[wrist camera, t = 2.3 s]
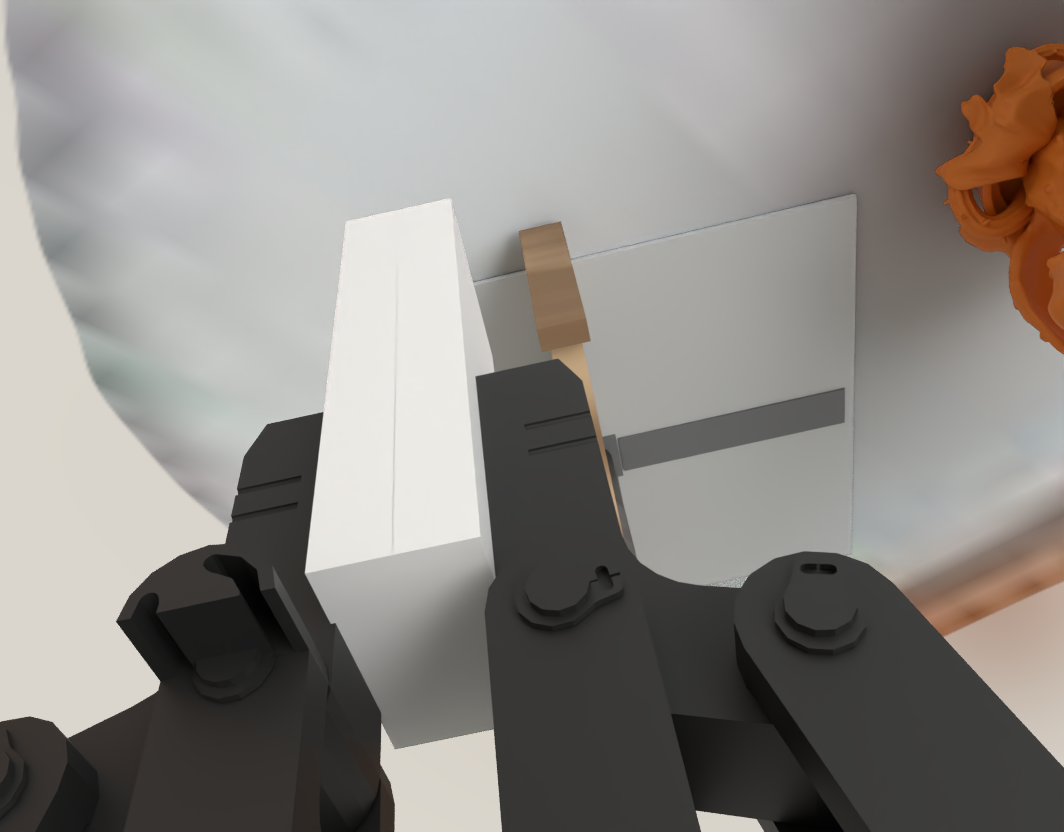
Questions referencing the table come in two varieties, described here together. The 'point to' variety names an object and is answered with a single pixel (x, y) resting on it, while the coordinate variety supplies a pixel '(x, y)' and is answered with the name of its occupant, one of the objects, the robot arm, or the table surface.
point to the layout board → (717, 384)
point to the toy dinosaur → (1019, 182)
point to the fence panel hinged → (560, 310)
